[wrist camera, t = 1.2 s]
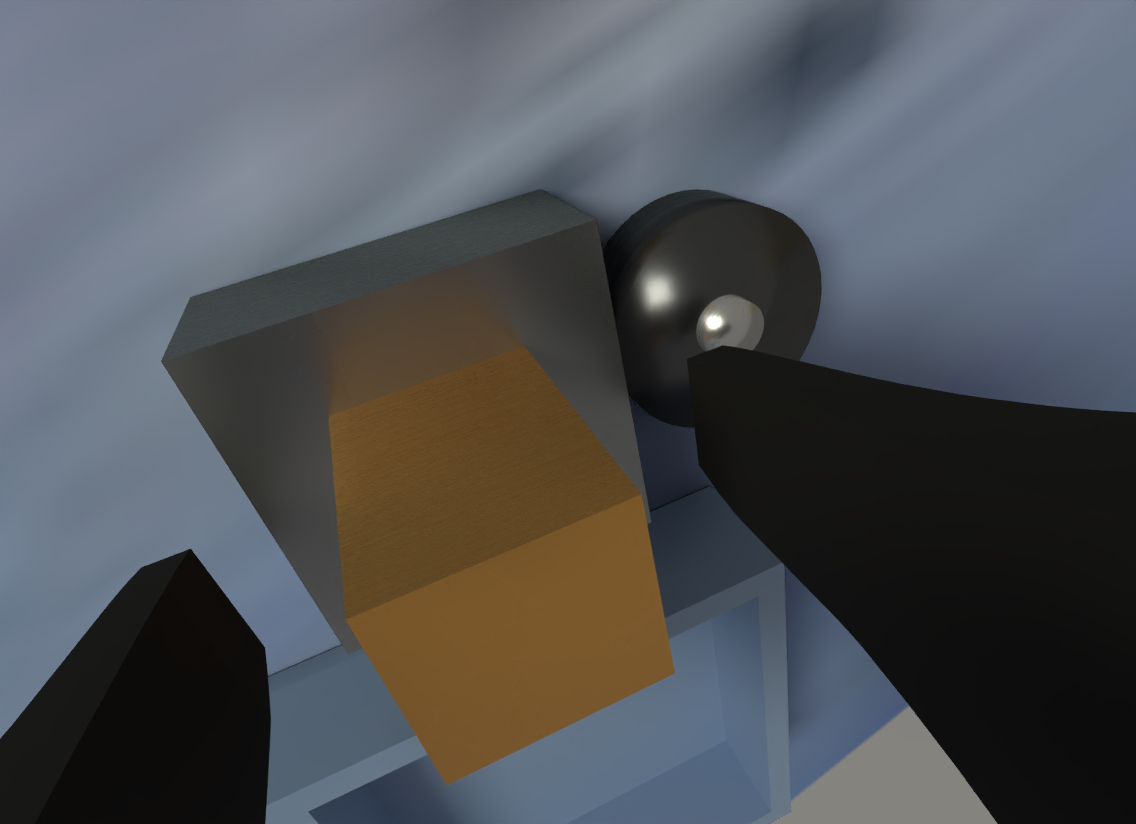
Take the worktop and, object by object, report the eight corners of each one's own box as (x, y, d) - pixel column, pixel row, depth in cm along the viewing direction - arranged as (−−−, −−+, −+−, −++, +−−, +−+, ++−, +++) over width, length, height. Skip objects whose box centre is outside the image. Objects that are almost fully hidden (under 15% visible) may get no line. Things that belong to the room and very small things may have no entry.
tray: (427, 890, 20) (445, 1005, 18) (260, 679, 14) (253, 811, 12) (736, 729, 22) (791, 811, 20) (710, 485, 16) (784, 561, 14)
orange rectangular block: (385, 486, 12) (446, 786, 7) (323, 354, 11) (346, 619, 6) (526, 431, 13) (675, 673, 8) (487, 299, 11) (642, 494, 6)
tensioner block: (340, 558, 13) (348, 654, 11) (190, 297, 10) (160, 361, 8) (775, 383, 15) (851, 435, 13) (766, 118, 12) (867, 131, 10)
